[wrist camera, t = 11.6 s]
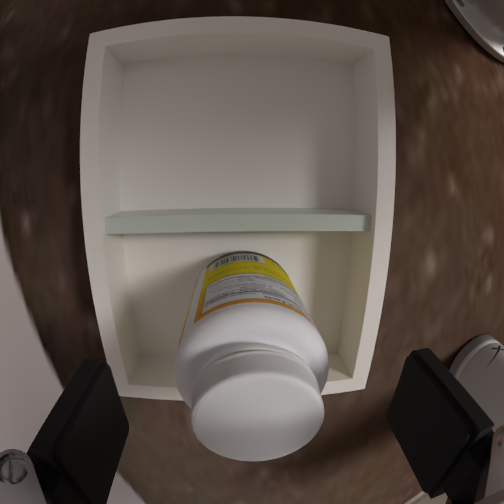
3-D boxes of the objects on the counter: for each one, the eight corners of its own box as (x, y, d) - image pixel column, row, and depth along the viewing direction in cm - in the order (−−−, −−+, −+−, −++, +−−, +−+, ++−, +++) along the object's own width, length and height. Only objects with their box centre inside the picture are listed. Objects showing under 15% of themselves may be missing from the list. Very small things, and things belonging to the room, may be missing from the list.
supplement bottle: (246, 351, 19) (259, 489, 9) (175, 296, 18) (126, 423, 8) (311, 290, 18) (384, 407, 8) (241, 226, 17) (254, 305, 7)
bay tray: (112, 54, 14) (90, 33, 11) (363, 55, 15) (388, 36, 12) (130, 363, 19) (116, 395, 16) (347, 358, 20) (364, 388, 17)
